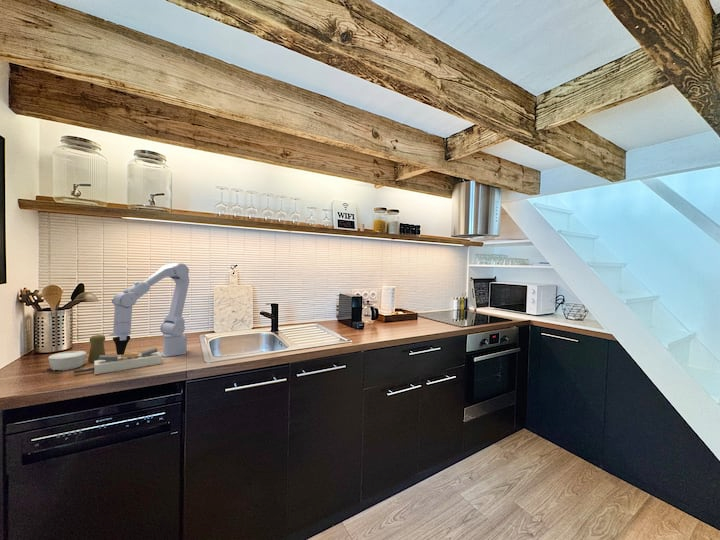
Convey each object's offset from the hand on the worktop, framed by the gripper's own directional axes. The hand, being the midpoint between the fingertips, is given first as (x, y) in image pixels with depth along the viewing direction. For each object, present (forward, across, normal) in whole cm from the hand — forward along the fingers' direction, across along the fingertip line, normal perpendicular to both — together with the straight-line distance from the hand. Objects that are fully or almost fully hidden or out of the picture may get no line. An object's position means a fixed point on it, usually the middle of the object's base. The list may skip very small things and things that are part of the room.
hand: (120, 354), depth 122 cm
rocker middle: (+2, 0, +3) cm, 3 cm away
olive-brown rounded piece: (+6, -17, -7) cm, 19 cm away
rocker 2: (+1, 0, +10) cm, 10 cm away
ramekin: (+6, -13, -16) cm, 21 cm away
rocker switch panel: (+6, 0, 0) cm, 6 cm away
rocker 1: (+2, 0, -4) cm, 4 cm away
